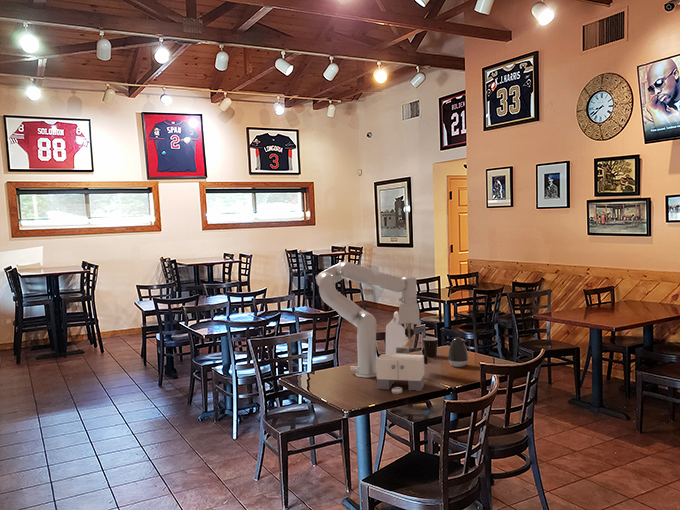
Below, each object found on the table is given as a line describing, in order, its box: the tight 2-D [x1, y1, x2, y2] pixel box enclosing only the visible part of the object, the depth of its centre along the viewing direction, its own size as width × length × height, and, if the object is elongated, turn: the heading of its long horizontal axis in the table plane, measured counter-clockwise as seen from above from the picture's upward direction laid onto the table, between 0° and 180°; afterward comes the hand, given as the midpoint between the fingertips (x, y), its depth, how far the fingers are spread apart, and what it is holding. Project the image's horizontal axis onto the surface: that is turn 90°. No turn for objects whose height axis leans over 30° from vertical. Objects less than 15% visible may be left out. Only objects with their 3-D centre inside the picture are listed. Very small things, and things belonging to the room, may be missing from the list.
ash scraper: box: [396, 323, 413, 355], centre depth 265 cm, size 6×24×10 cm, turn 163°
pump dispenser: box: [447, 336, 469, 368], centre depth 280 cm, size 10×10×15 cm
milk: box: [384, 311, 410, 355], centre depth 307 cm, size 12×12×26 cm
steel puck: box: [391, 386, 404, 395], centre depth 236 cm, size 5×5×2 cm
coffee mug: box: [422, 337, 439, 359], centre depth 304 cm, size 12×9×10 cm
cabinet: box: [376, 353, 426, 392], centre depth 245 cm, size 20×13×14 cm, turn 73°
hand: (409, 336), depth 273 cm, fingers closed on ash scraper, 1 cm apart
